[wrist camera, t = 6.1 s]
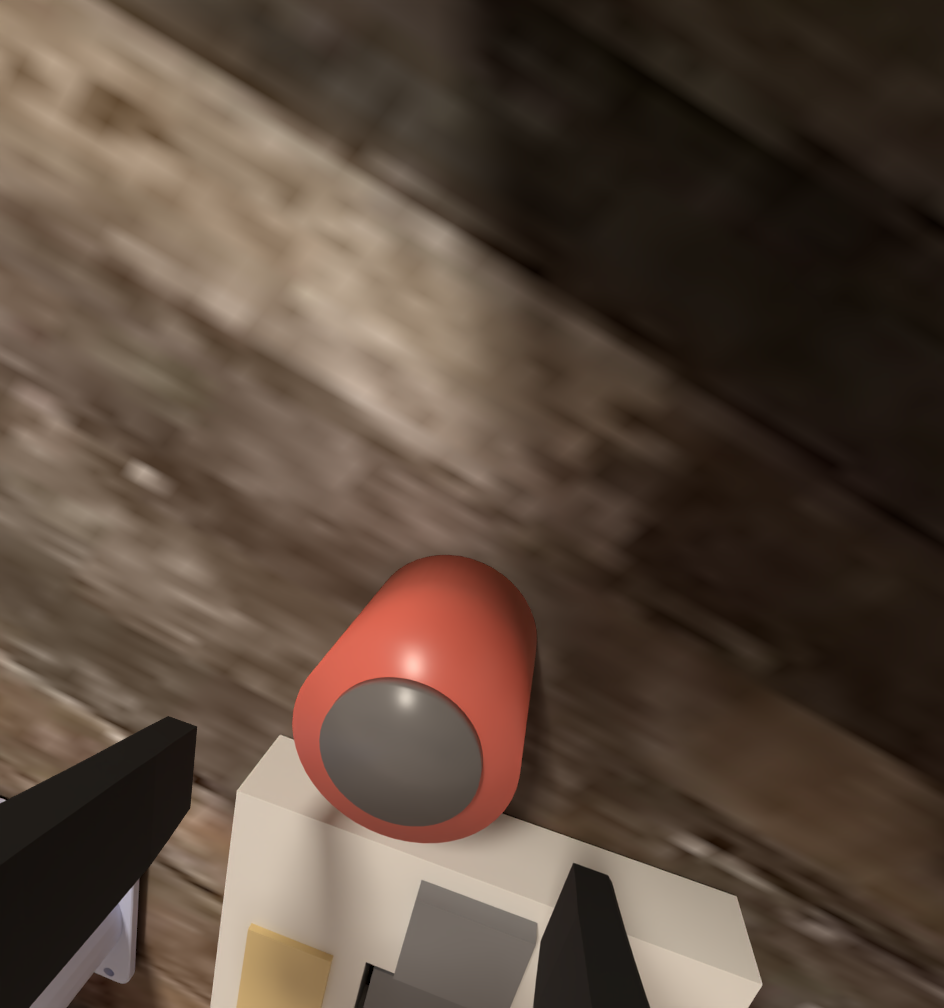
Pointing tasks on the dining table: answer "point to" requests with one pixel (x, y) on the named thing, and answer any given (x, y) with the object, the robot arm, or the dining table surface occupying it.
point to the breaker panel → (440, 909)
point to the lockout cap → (423, 703)
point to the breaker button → (400, 994)
